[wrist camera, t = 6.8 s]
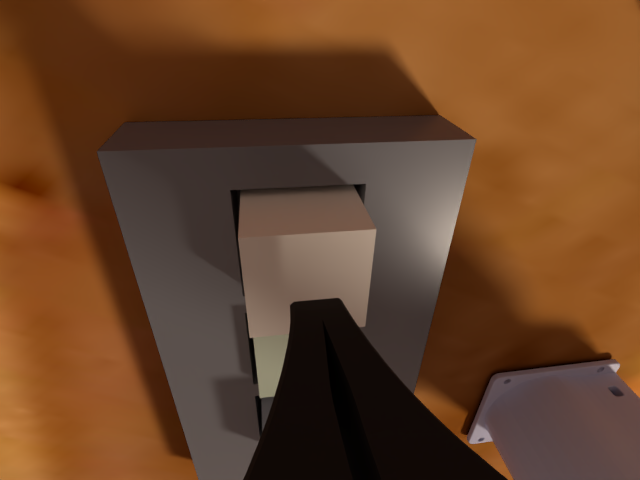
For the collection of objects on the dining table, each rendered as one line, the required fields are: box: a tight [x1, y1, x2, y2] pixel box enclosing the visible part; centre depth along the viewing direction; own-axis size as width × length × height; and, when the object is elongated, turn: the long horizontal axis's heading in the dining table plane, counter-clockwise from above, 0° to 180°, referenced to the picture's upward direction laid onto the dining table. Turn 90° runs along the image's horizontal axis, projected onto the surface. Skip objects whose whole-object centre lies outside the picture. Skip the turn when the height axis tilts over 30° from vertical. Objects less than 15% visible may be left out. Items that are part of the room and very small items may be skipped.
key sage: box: [253, 334, 289, 398], centre depth 18 cm, size 4×4×3 cm
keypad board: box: [97, 115, 476, 480], centre depth 20 cm, size 12×24×3 cm, turn 179°
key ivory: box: [238, 184, 376, 338], centre depth 13 cm, size 4×4×3 cm
